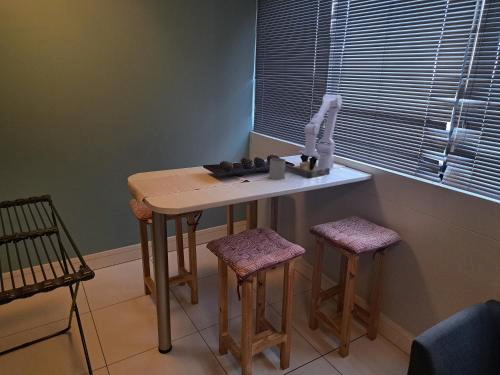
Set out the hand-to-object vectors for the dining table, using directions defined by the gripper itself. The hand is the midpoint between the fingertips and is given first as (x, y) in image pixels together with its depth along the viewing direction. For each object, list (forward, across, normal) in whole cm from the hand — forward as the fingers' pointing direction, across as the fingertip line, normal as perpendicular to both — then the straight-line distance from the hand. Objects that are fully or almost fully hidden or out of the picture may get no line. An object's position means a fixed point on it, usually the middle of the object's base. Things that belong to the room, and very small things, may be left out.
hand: (308, 168), depth 197 cm
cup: (+3, -4, -20) cm, 21 cm away
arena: (+3, -4, +1) cm, 5 cm away
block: (+1, 0, 0) cm, 1 cm away
